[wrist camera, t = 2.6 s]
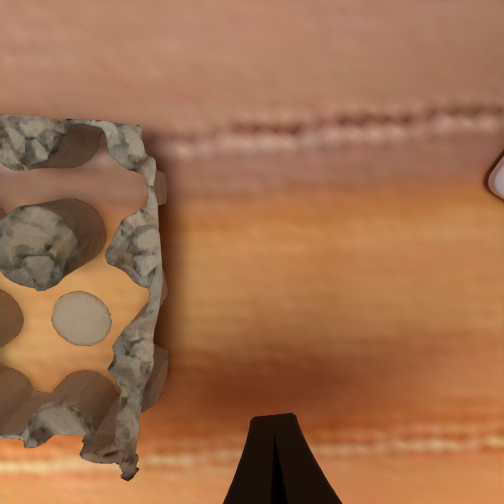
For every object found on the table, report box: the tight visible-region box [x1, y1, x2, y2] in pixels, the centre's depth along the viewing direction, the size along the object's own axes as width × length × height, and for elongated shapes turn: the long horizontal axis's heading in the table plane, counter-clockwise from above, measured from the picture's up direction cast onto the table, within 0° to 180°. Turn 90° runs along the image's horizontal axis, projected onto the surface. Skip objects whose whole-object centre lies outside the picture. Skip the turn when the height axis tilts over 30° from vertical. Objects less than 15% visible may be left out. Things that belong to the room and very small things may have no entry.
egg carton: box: [0, 114, 169, 481], centre depth 10 cm, size 11×8×4 cm
